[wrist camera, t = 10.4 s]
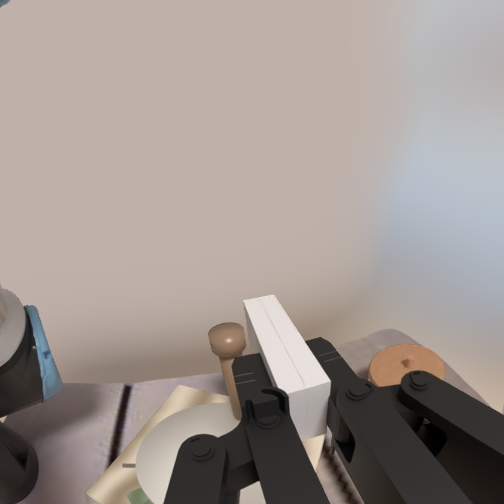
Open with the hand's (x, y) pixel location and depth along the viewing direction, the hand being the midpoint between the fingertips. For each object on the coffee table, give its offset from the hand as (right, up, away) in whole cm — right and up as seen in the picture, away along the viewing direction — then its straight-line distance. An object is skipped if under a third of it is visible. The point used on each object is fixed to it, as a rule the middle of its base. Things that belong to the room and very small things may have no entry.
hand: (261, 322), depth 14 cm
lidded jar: (+20, -19, +18) cm, 33 cm away
